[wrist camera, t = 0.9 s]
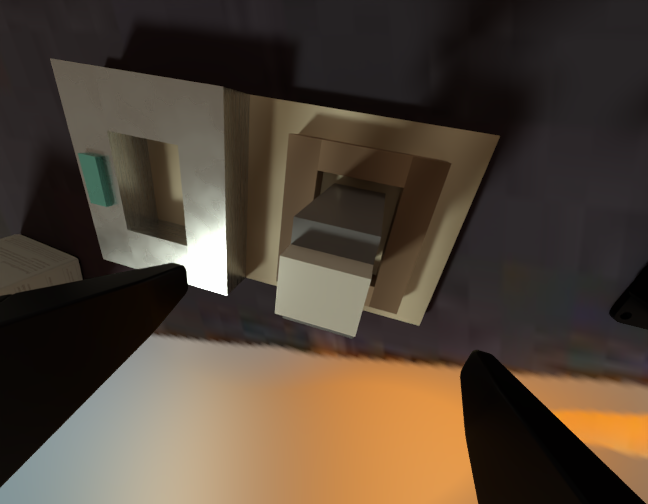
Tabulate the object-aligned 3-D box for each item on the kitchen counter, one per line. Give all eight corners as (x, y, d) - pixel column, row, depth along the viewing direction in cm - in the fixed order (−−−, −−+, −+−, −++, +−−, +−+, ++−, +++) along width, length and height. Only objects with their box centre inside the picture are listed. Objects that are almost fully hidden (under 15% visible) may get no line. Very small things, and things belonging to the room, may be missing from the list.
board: (492, 136, 13) (500, 135, 12) (417, 316, 18) (419, 325, 17) (102, 71, 16) (85, 67, 16) (134, 238, 22) (123, 243, 21)
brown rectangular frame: (445, 160, 13) (451, 163, 12) (396, 300, 17) (396, 314, 16) (298, 133, 14) (288, 133, 13) (284, 270, 18) (276, 281, 17)
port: (249, 94, 14) (218, 85, 11) (245, 277, 19) (223, 298, 17) (99, 69, 15) (40, 56, 13) (134, 246, 21) (97, 261, 18)
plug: (385, 193, 14) (379, 249, 7) (367, 262, 16) (348, 357, 9) (334, 183, 15) (282, 225, 8) (322, 251, 17) (272, 334, 10)
